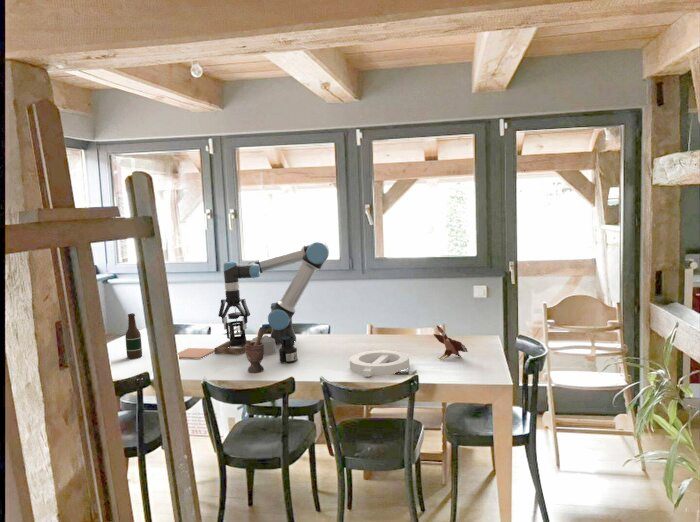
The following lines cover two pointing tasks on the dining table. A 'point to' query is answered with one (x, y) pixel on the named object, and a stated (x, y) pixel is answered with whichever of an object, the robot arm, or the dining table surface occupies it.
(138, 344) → the beer bottle
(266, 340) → the lumpy-topped squat cylinder
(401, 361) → the white circle with bar
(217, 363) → the dining table surface
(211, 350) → the terracotta pad
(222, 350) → the brown wooden tray
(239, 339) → the french press
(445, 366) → the dining table surface
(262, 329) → the mortar and pestle
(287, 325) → the robot arm
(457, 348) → the decorative bird
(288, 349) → the ink bottle
